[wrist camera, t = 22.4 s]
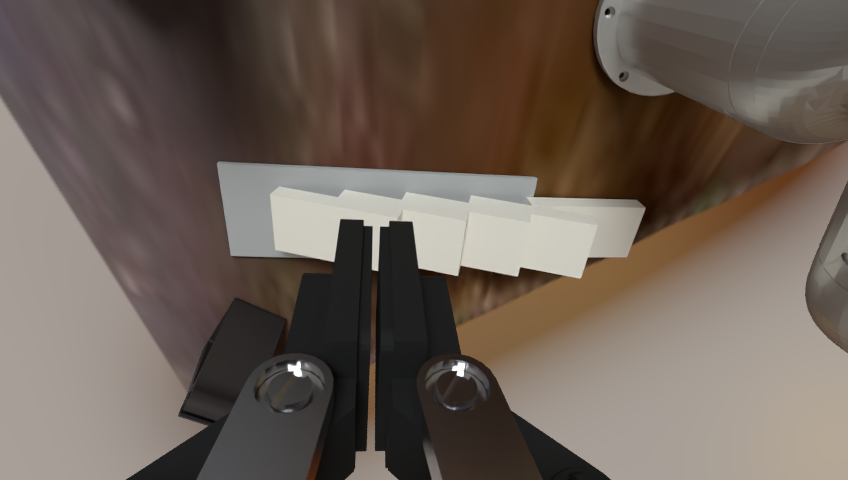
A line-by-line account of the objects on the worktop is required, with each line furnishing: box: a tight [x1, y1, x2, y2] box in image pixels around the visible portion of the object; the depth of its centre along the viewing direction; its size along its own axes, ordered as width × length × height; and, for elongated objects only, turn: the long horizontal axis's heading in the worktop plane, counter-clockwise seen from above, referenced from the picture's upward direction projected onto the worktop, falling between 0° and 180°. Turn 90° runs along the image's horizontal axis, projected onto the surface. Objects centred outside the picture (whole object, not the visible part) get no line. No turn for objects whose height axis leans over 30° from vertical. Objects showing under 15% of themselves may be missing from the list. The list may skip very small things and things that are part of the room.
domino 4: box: [469, 195, 598, 279], centre depth 46 cm, size 2×6×12 cm
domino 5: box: [525, 197, 646, 257], centre depth 48 cm, size 2×6×12 cm
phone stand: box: [178, 298, 286, 426], centre depth 48 cm, size 9×6×12 cm, turn 144°
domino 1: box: [270, 186, 403, 271], centre depth 44 cm, size 2×6×12 cm
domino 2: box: [339, 190, 469, 276], centre depth 44 cm, size 2×6×12 cm
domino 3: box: [402, 192, 531, 277], centre depth 45 cm, size 2×6×12 cm
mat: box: [217, 162, 537, 258], centre depth 47 cm, size 30×10×1 cm, turn 85°
